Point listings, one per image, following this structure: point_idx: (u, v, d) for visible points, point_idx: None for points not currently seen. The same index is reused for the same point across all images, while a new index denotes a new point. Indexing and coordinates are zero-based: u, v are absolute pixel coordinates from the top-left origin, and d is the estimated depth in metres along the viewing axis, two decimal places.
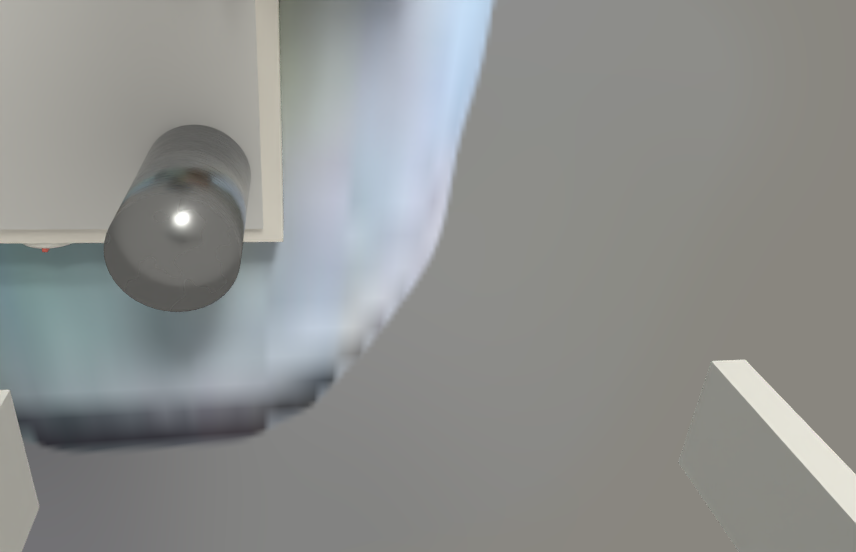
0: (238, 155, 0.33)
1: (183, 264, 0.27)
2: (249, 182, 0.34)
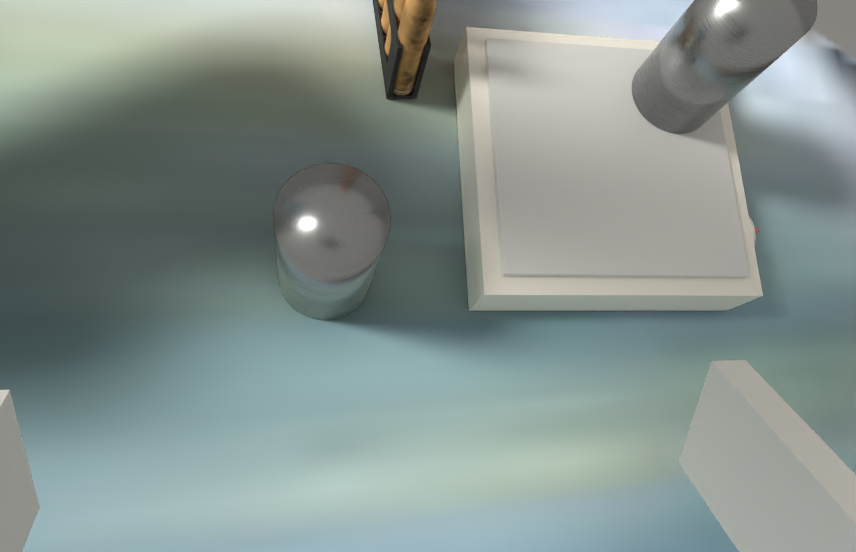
0: None
1: None
2: None
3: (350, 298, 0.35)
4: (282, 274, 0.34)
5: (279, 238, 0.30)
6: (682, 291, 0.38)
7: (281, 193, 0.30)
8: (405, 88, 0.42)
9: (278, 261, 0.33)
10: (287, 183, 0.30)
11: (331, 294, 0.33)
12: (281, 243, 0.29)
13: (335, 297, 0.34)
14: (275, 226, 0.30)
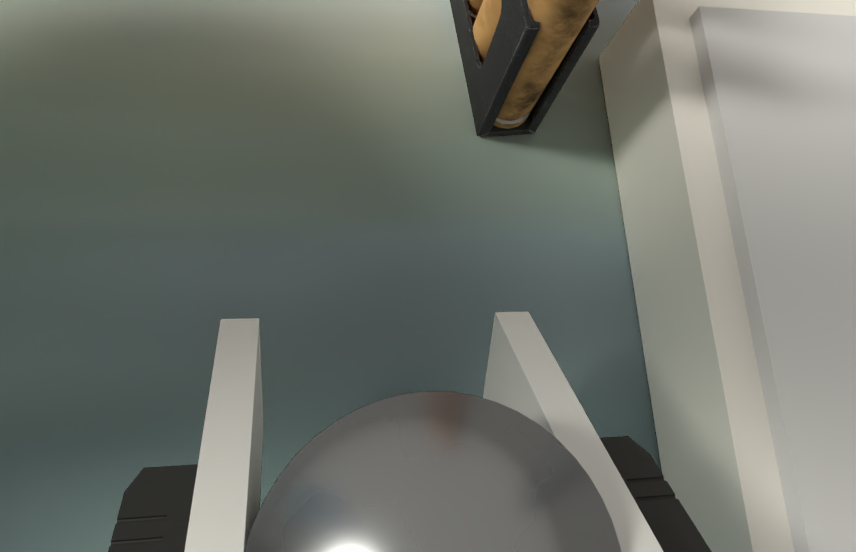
0: None
1: None
2: None
3: None
4: None
5: None
6: None
7: (263, 521, 0.09)
8: (517, 115, 0.21)
9: None
10: (283, 480, 0.09)
11: None
12: None
13: None
14: None
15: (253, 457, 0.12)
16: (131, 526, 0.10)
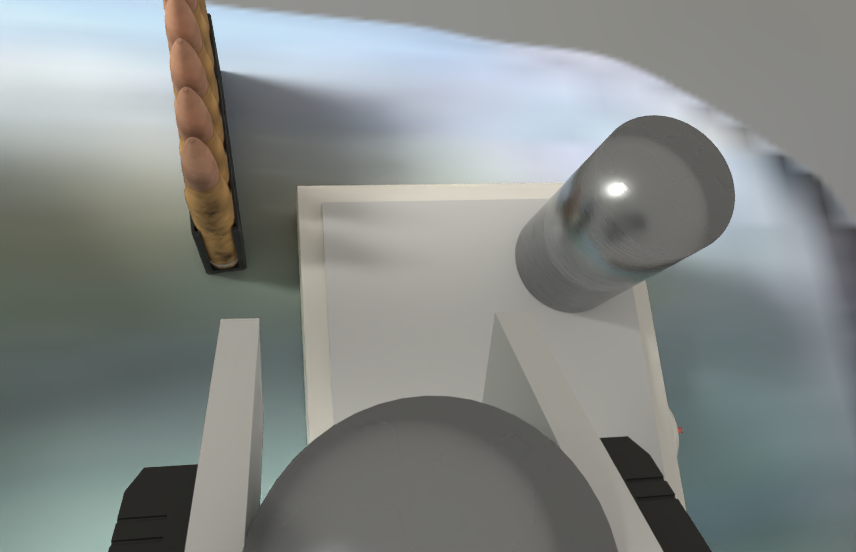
0: None
1: (675, 173, 0.24)
2: None
3: None
4: None
5: None
6: None
7: (260, 526, 0.09)
8: (227, 262, 0.33)
9: None
10: (280, 485, 0.09)
11: None
12: None
13: None
14: None
15: (253, 457, 0.12)
16: (131, 526, 0.10)
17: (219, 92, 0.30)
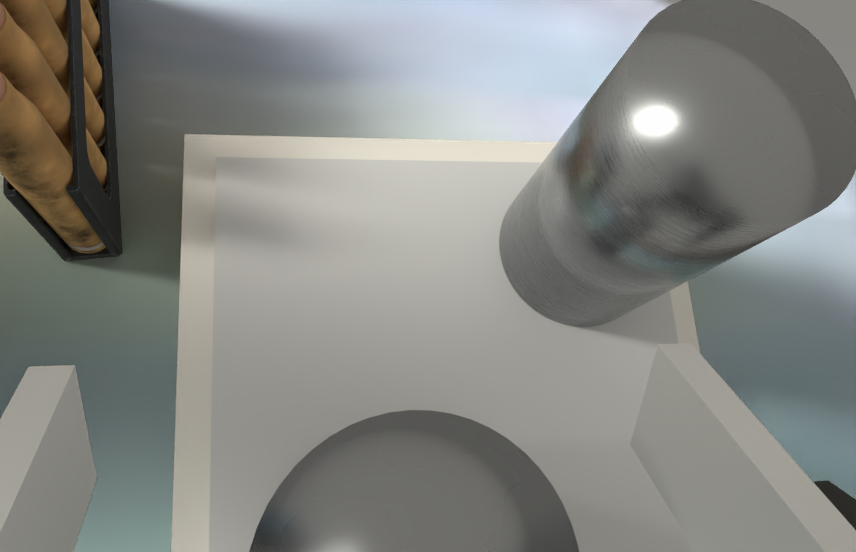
0: None
1: (760, 89, 0.14)
2: None
3: None
4: None
5: None
6: None
7: (266, 524, 0.10)
8: (89, 244, 0.23)
9: None
10: (283, 488, 0.10)
11: None
12: None
13: None
14: None
15: (19, 542, 0.10)
16: None
17: None
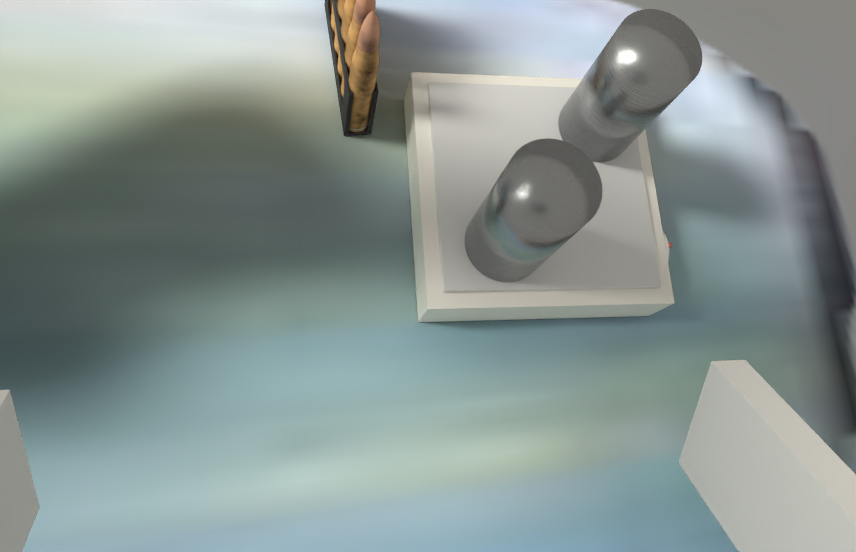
0: None
1: (664, 43, 0.39)
2: None
3: (544, 260, 0.40)
4: (489, 239, 0.39)
5: (513, 203, 0.34)
6: (602, 301, 0.44)
7: (510, 165, 0.35)
8: (359, 126, 0.47)
9: (489, 227, 0.38)
10: (514, 156, 0.35)
11: (538, 254, 0.38)
12: (515, 207, 0.34)
13: (538, 258, 0.38)
14: (508, 193, 0.34)
15: None
16: None
17: None
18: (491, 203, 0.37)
